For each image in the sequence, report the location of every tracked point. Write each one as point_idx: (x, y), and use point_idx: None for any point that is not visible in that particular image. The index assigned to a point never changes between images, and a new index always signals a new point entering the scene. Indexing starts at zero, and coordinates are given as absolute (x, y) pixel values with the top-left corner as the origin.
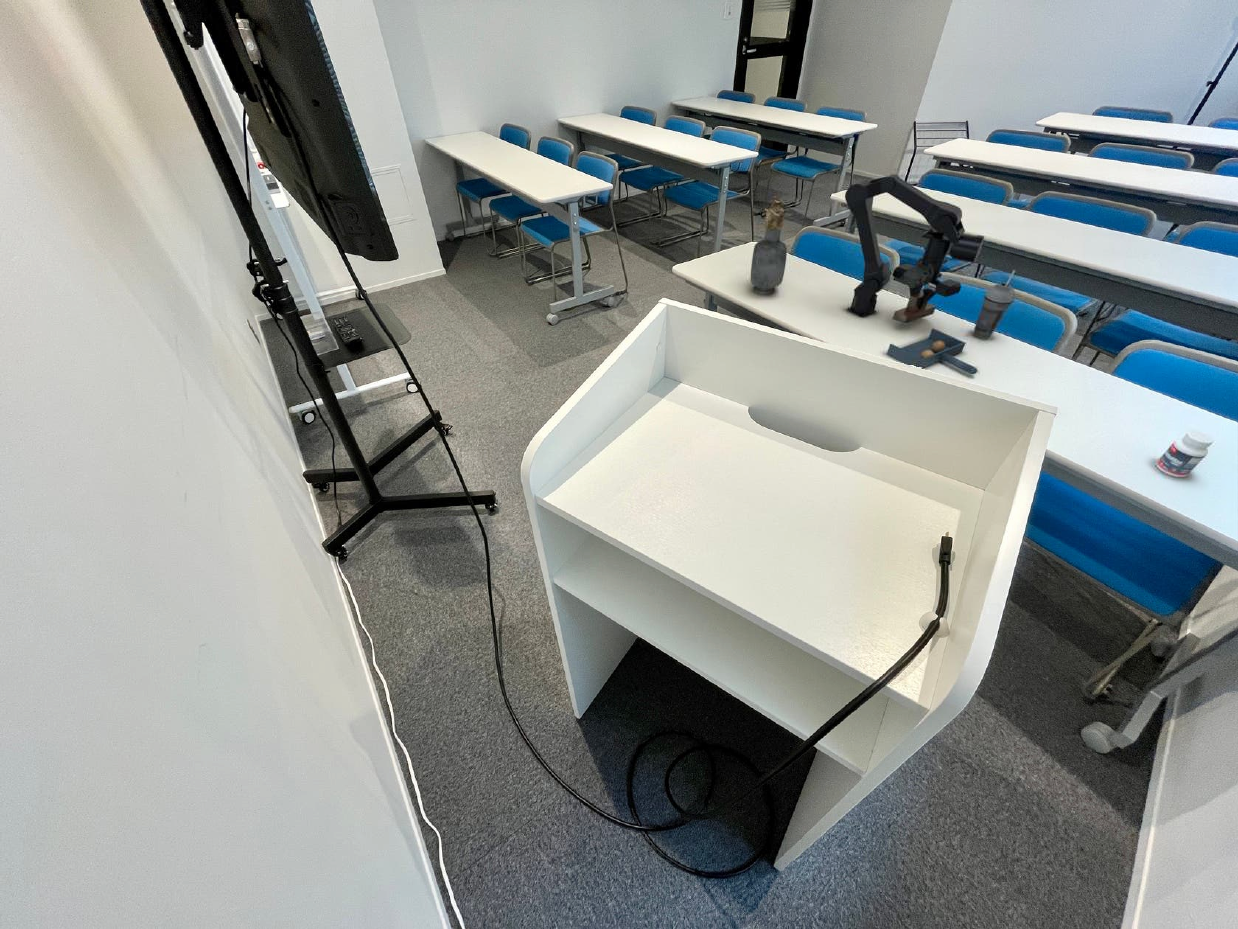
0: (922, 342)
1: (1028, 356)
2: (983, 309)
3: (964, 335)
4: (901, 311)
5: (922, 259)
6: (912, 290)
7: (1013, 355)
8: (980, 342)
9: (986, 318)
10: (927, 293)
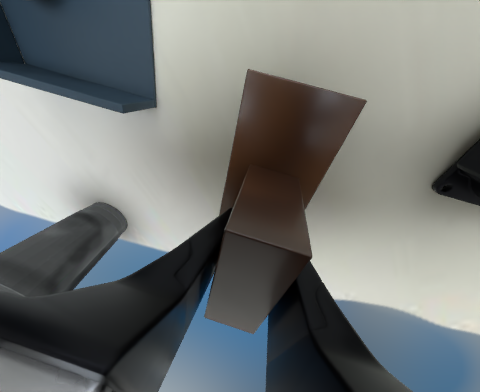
0: (133, 21)
1: (2, 181)
2: (23, 270)
3: (124, 197)
4: (314, 133)
5: None
6: (322, 327)
7: (7, 166)
8: (81, 183)
9: (31, 240)
10: (85, 295)
